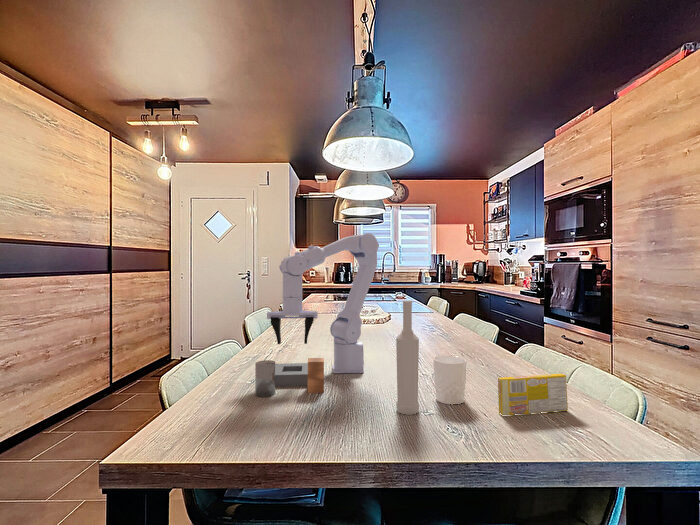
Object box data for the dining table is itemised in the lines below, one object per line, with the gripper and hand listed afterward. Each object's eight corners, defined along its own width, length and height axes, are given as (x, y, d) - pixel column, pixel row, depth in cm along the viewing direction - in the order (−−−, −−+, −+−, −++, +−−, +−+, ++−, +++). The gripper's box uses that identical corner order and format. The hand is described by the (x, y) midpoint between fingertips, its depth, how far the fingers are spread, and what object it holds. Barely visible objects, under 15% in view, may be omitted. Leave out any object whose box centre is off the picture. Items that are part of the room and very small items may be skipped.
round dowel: (276, 390, 97) (276, 360, 97) (273, 397, 92) (273, 365, 92) (257, 390, 97) (257, 360, 97) (253, 397, 92) (253, 365, 92)
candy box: (561, 408, 85) (561, 372, 85) (568, 412, 83) (568, 375, 83) (497, 413, 82) (497, 376, 82) (503, 417, 80) (502, 379, 80)
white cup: (468, 397, 92) (468, 357, 92) (464, 408, 85) (464, 364, 85) (437, 392, 95) (436, 354, 95) (430, 402, 88) (430, 361, 88)
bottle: (420, 408, 85) (420, 300, 85) (417, 416, 80) (417, 302, 80) (398, 405, 86) (398, 299, 87) (393, 413, 82) (393, 301, 82)
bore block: (313, 372, 113) (313, 362, 113) (312, 385, 101) (312, 374, 101) (274, 373, 112) (274, 363, 112) (268, 386, 100) (268, 375, 101)
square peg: (323, 387, 100) (323, 357, 100) (323, 392, 96) (323, 361, 96) (308, 387, 99) (308, 358, 100) (307, 392, 95) (307, 362, 95)
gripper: (265, 298, 103) (265, 346, 103) (317, 297, 104) (317, 345, 104) (268, 296, 110) (268, 341, 110) (317, 295, 111) (317, 340, 111)
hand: (292, 343), depth 107 cm, fingers open, 7 cm apart
